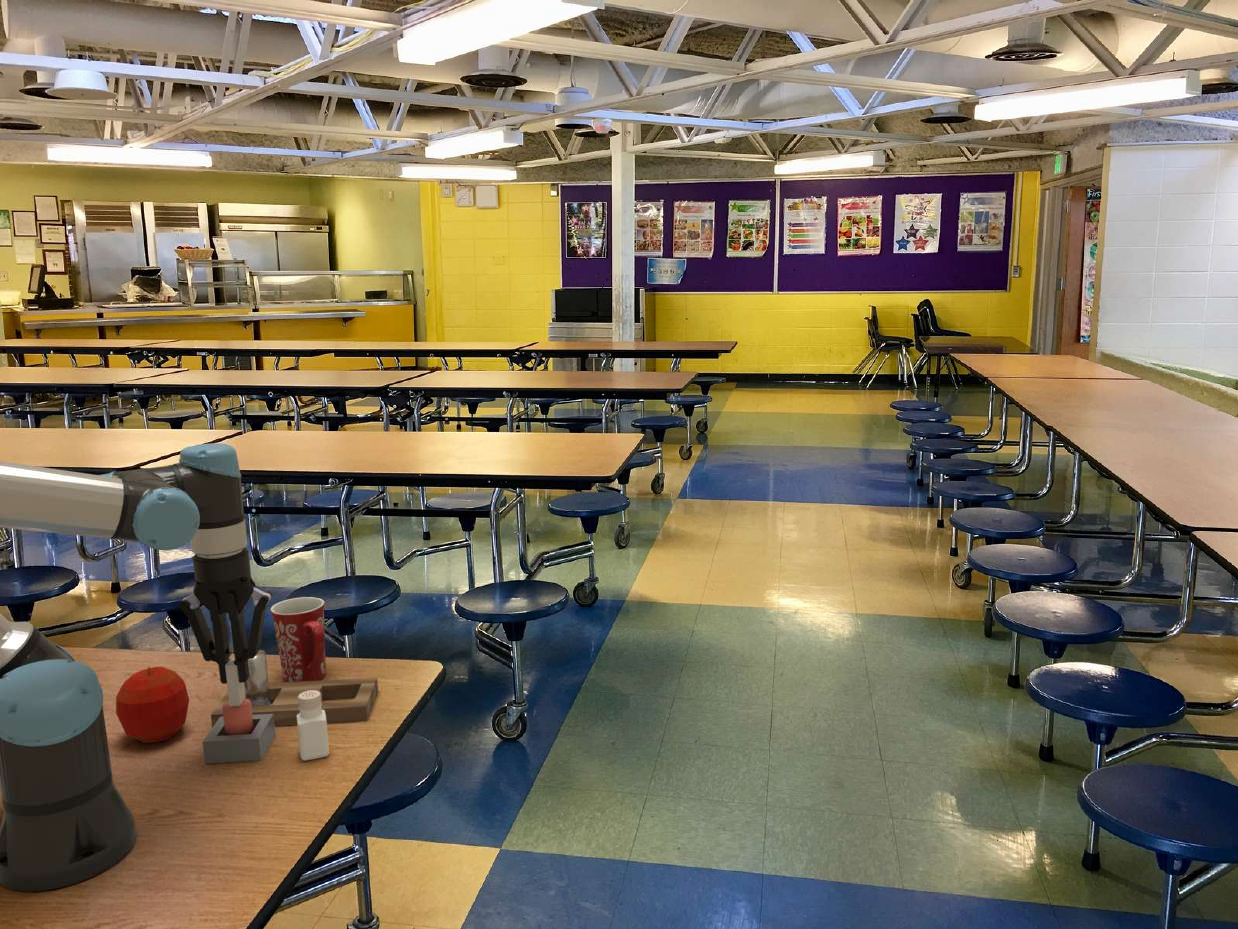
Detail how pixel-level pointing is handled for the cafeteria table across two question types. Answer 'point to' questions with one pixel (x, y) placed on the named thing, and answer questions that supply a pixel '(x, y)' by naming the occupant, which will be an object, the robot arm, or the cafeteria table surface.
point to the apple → (152, 704)
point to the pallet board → (343, 711)
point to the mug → (300, 638)
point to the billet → (257, 681)
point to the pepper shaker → (312, 726)
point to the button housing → (239, 741)
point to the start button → (238, 718)
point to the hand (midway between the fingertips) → (237, 702)
